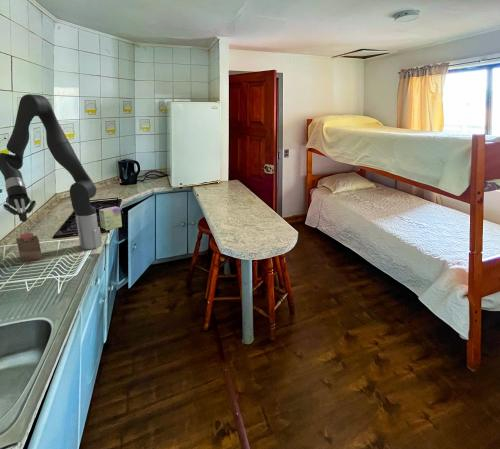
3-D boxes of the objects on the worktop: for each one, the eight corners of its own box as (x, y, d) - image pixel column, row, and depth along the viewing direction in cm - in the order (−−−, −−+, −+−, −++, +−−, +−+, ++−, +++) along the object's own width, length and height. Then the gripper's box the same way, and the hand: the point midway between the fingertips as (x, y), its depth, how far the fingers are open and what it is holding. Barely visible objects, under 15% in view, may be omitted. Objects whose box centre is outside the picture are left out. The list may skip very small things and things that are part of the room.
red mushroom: (23, 253, 156) (19, 234, 153) (36, 251, 158) (32, 232, 156) (24, 256, 152) (20, 237, 149) (37, 254, 155) (33, 234, 152)
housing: (20, 256, 156) (16, 238, 154) (40, 253, 161) (36, 235, 158) (21, 262, 150) (17, 243, 148) (42, 258, 155) (38, 240, 152)
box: (117, 224, 205) (115, 206, 201) (122, 226, 201) (120, 207, 198) (100, 228, 197) (98, 209, 193) (105, 230, 194) (103, 211, 190)
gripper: (-3, 186, 149) (5, 219, 144) (32, 183, 157) (40, 214, 151) (-1, 195, 155) (7, 227, 149) (33, 192, 162) (41, 222, 157)
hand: (24, 220), depth 150 cm, fingers closed
